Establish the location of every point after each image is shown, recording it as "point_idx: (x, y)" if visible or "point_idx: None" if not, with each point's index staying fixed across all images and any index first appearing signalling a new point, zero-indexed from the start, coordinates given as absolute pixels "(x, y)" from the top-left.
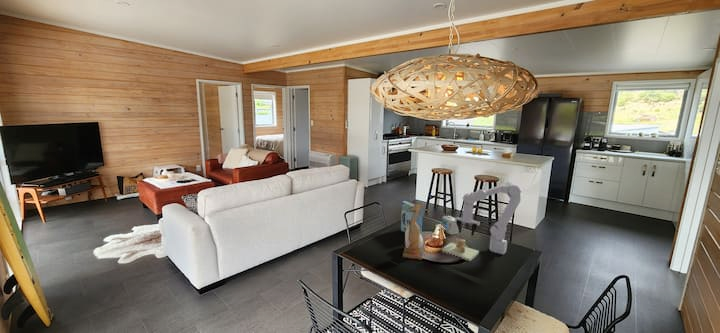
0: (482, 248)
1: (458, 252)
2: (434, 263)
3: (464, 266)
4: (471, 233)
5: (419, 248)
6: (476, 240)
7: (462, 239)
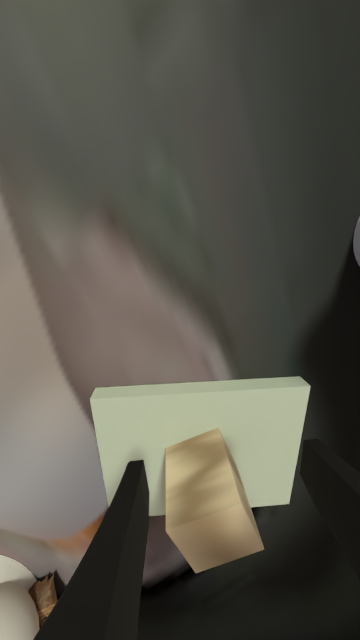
0: (304, 276)
1: None
2: (163, 590)
3: (274, 537)
4: (323, 517)
5: (38, 618)
6: (211, 113)
7: (216, 512)
